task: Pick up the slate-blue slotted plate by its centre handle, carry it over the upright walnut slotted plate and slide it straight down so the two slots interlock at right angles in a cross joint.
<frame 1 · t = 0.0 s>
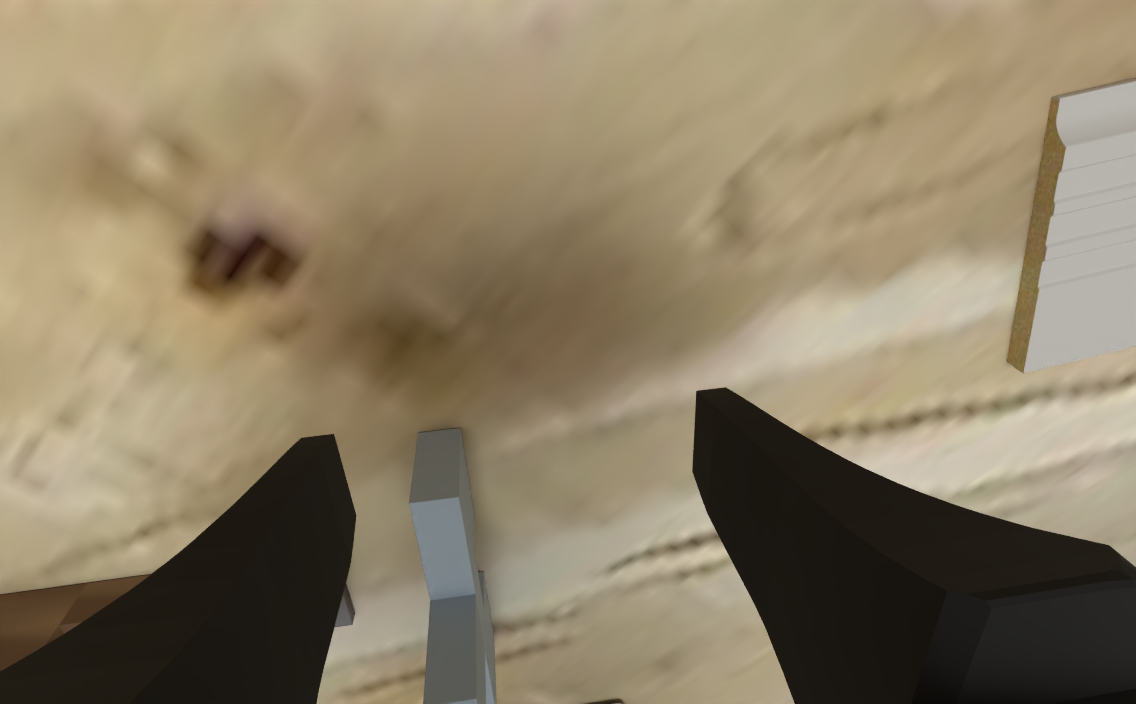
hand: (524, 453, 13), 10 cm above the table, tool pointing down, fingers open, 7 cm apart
walnut slotted plate: (137, 591, 26), on the table
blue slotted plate: (460, 546, 27), on the table
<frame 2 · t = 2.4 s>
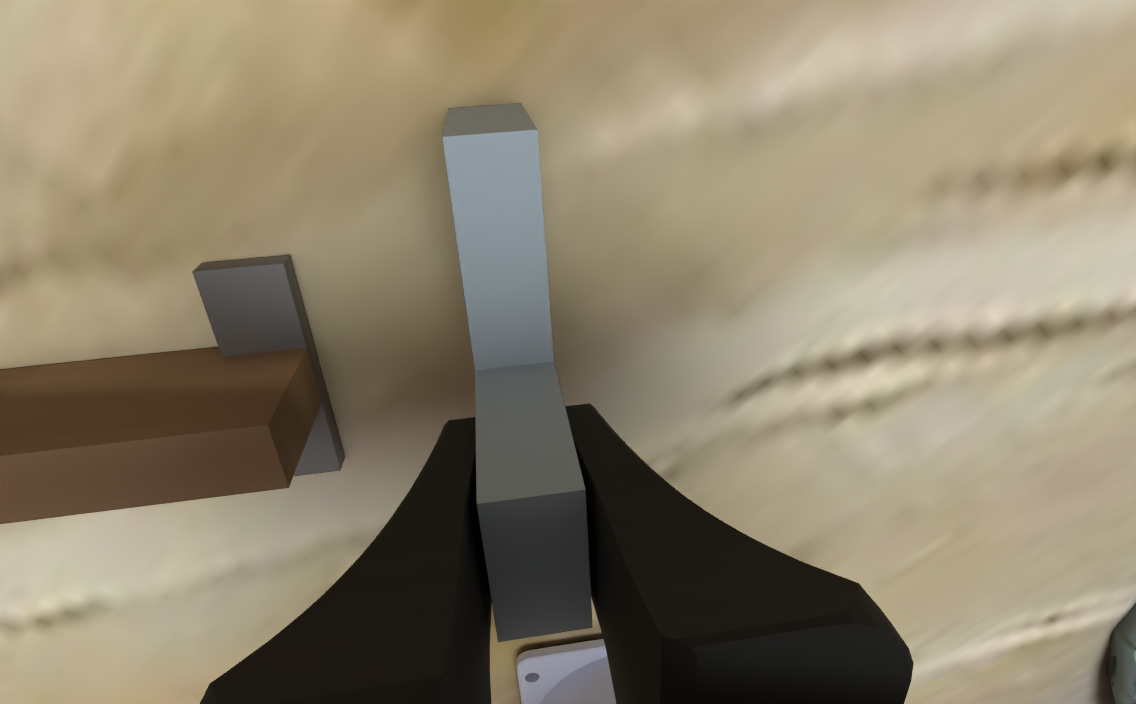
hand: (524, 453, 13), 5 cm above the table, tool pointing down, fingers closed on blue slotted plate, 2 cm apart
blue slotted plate: (510, 343, 17), on the table, touching gripper
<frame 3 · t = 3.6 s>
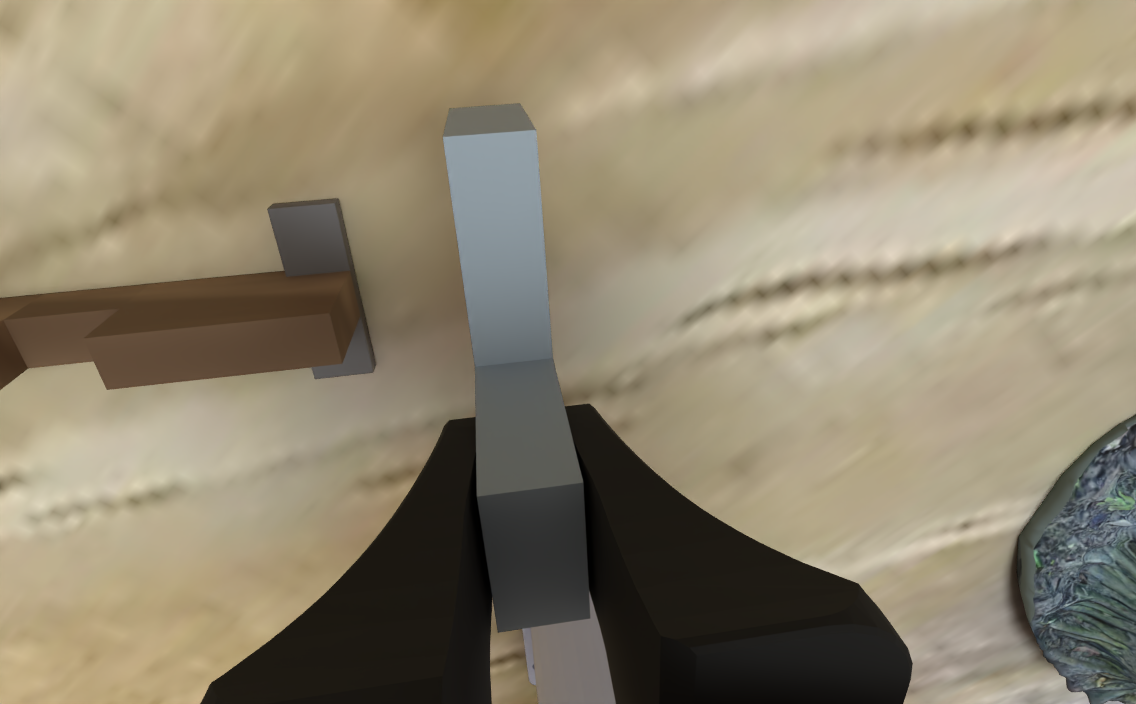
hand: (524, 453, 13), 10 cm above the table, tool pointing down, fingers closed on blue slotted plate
walnut slotted plate: (107, 311, 21), on the table
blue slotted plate: (510, 340, 17), point 5 cm above the table, touching gripper
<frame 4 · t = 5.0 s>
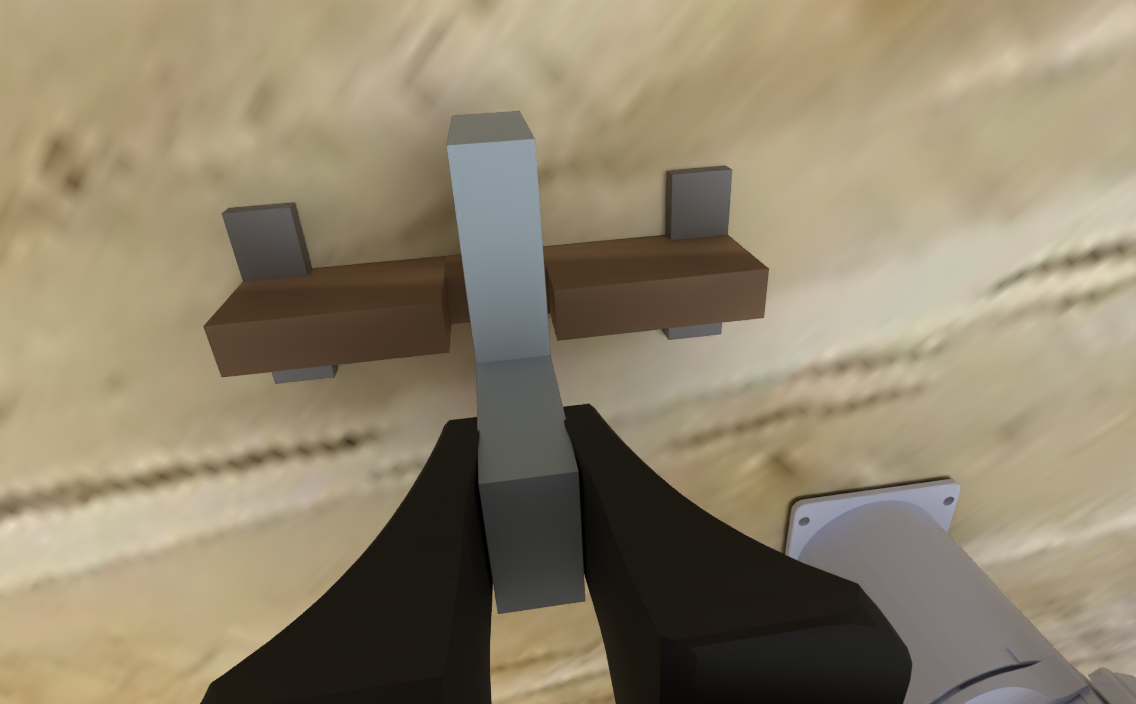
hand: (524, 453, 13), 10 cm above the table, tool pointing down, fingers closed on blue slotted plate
walnut slotted plate: (496, 273, 22), on the table
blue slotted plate: (509, 338, 18), point 5 cm above the table, touching gripper
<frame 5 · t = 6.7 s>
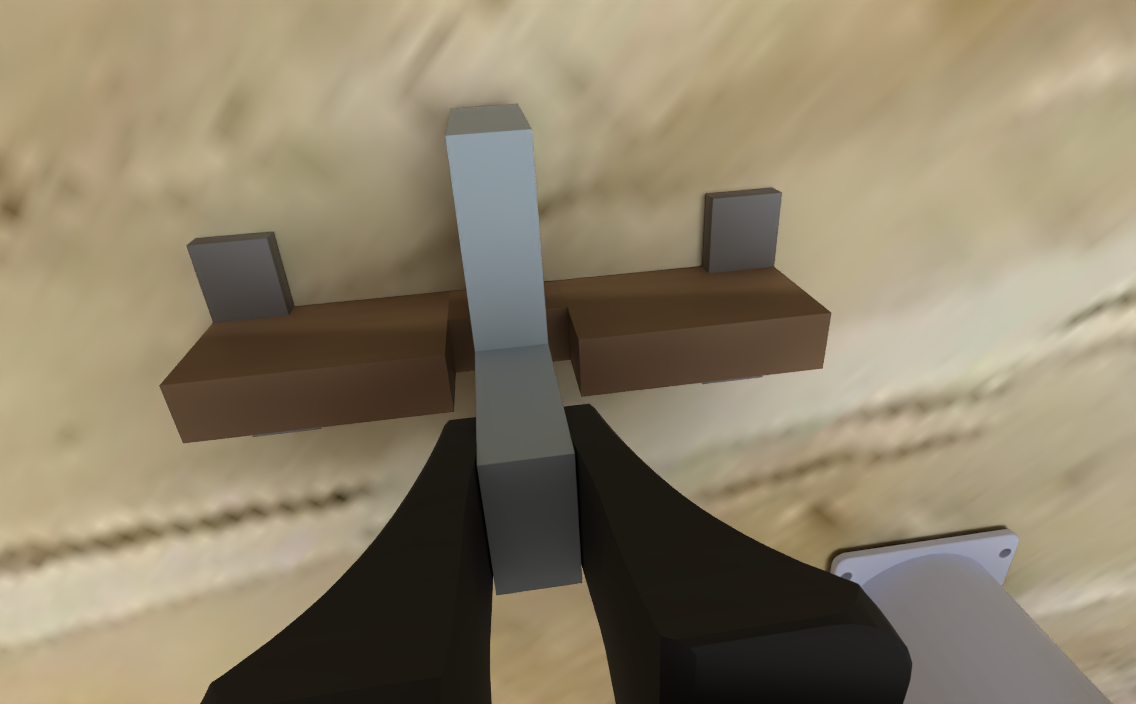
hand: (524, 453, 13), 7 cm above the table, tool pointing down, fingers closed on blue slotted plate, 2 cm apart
walnut slotted plate: (507, 310, 19), on the table
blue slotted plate: (508, 330, 18), point 1 cm above the table, touching gripper
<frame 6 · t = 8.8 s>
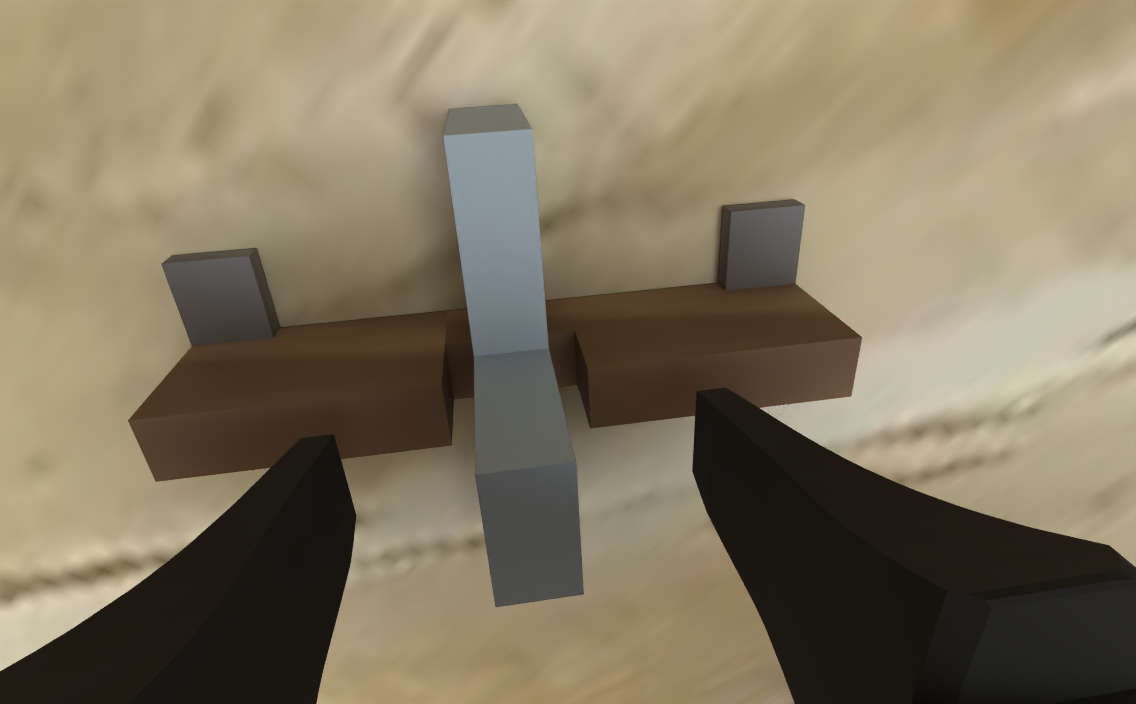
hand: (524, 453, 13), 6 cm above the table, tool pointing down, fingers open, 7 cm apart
walnut slotted plate: (509, 330, 18), on the table
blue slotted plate: (508, 334, 18), on the table
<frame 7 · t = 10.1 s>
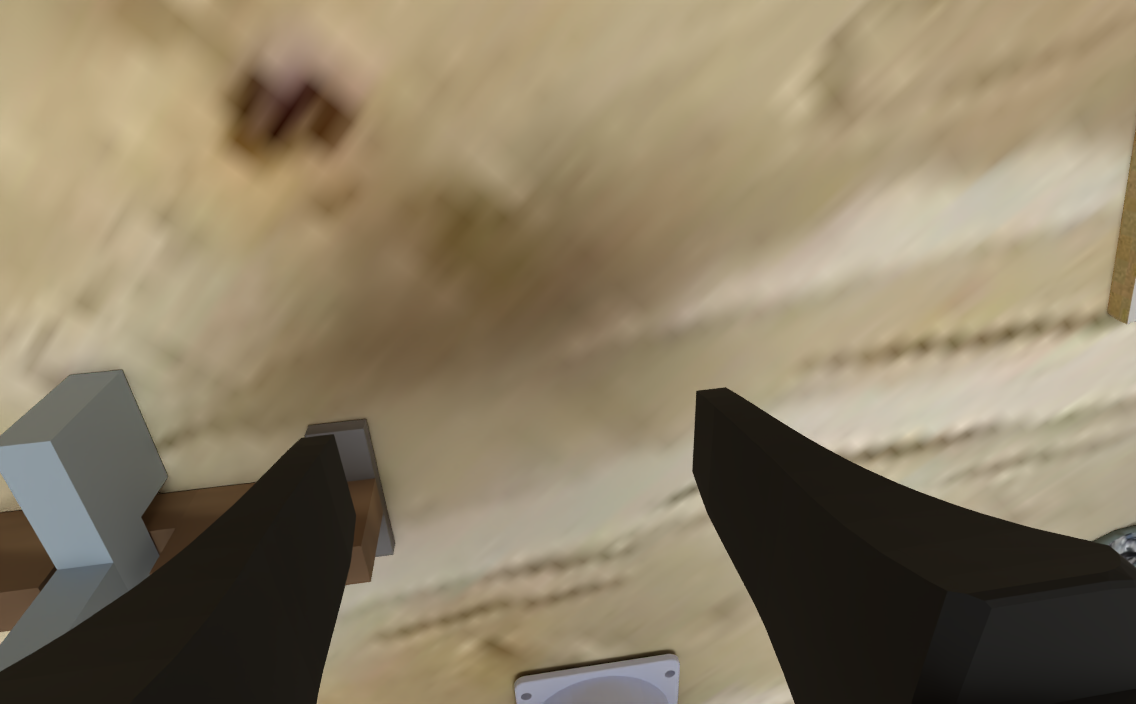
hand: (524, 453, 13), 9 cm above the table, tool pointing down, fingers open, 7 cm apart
walnut slotted plate: (159, 511, 23), on the table
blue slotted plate: (159, 513, 23), on the table
tree stump: (1112, 643, 36), on the table
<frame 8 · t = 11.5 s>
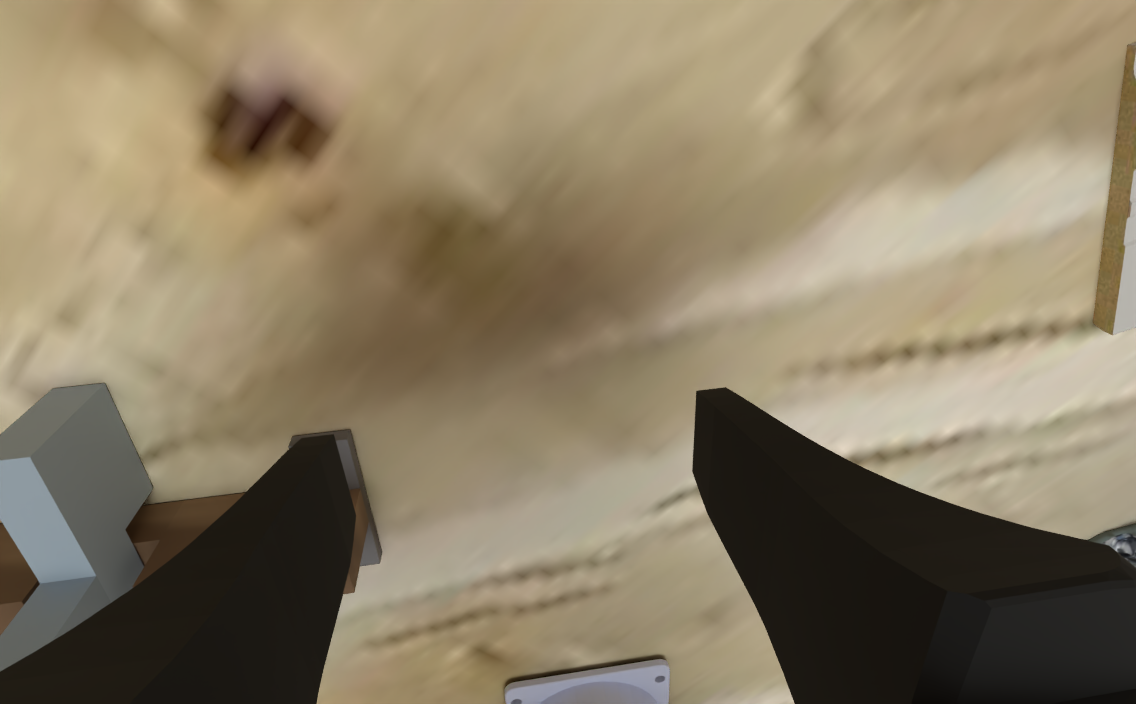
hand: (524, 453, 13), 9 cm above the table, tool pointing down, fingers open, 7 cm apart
walnut slotted plate: (145, 522, 23), on the table
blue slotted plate: (146, 524, 23), on the table
tree stump: (1105, 643, 36), on the table
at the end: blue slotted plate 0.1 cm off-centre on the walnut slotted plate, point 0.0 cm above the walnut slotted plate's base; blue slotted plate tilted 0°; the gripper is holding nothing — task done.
